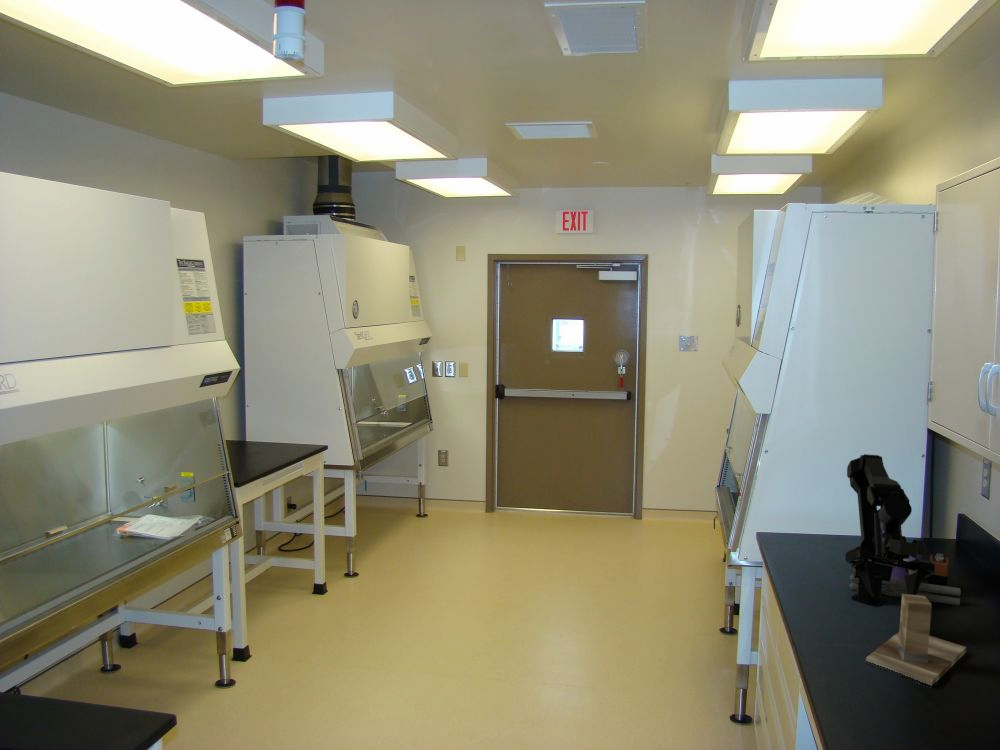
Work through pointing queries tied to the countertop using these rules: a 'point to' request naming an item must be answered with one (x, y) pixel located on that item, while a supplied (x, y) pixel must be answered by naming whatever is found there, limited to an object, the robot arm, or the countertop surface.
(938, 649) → the subfloor panel
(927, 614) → the tall wooden post
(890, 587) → the metal rod assembly
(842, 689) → the countertop surface
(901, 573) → the tape roll
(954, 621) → the countertop surface
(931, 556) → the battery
